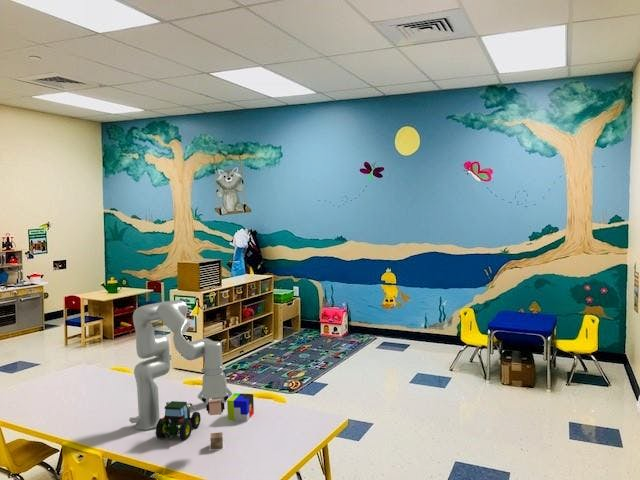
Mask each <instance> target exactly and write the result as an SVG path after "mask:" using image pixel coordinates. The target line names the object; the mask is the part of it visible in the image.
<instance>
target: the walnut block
mask: <svg viewBox="0 0 640 480" xmlns="http://www.w3.org/2000/svg"><path fill="white" fill-rule="evenodd" d="M209 439H210V444H211V450H212V449H222V448H223V442H224V441H223V431H222V432H221V431H219V432H213V433H211V432H210V438H209ZM222 450H223V449H222ZM212 451H213V450H212Z"/></svg>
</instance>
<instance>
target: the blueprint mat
mask: <svg viewBox="0 0 640 480" xmlns="http://www.w3.org/2000/svg"><path fill="white" fill-rule="evenodd" d="M208 445H209V447H208V451H209V452H210V451H219V450H220V451H221V450H225V445H226V444H225V442H224V441H223V448H222V449H212V450H211V443H209V444H208Z"/></svg>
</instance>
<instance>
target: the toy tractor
mask: <svg viewBox="0 0 640 480" xmlns="http://www.w3.org/2000/svg"><path fill="white" fill-rule="evenodd" d="M191 409H192V410H193V409H194V407H193V403H188V402H187V401H175V400H174V401H173V400H172V401H170V402H168V401H167V402H165V406H164V417H162V418H161V417H160V418H161V419H160V420H159V421H158V423H157V425H156V428H155V436H156V438H158V439H165V438H166V437H167V436H168V437H167V438H168V439H170V438H172V437H176V436H177V435H178V433H179V438H180V440H185V441H186V440H188V439H189V438H190V437H191V434H192V431H193V429H198V428H199V426H200V424H201V413H200V412H199V411H193V413H192V415H191Z"/></svg>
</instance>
